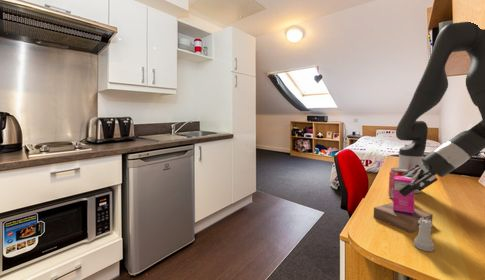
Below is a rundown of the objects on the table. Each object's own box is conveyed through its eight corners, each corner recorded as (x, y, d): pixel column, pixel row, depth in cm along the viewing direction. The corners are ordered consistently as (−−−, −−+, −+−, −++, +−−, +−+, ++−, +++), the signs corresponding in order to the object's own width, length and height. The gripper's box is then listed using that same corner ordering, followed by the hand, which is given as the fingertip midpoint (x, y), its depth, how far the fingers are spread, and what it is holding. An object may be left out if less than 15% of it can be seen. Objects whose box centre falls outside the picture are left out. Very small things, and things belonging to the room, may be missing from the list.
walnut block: (394, 211, 84) (395, 201, 84) (431, 225, 73) (432, 214, 73) (373, 218, 79) (374, 207, 79) (410, 234, 69) (411, 221, 68)
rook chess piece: (428, 254, 58) (430, 225, 57) (409, 245, 62) (411, 218, 61) (437, 249, 60) (440, 221, 59) (419, 241, 64) (421, 214, 63)
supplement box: (393, 206, 80) (394, 175, 79) (414, 209, 76) (415, 177, 75) (392, 211, 75) (393, 178, 74) (414, 215, 72) (415, 181, 71)
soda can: (405, 202, 91) (407, 172, 90) (385, 198, 97) (387, 169, 95) (410, 198, 96) (412, 169, 95) (390, 194, 101) (392, 166, 100)
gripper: (426, 147, 77) (385, 176, 83) (444, 154, 64) (394, 188, 70) (444, 163, 76) (401, 191, 82) (466, 173, 63) (413, 206, 69)
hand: (398, 190), depth 76 cm, fingers open, 7 cm apart
